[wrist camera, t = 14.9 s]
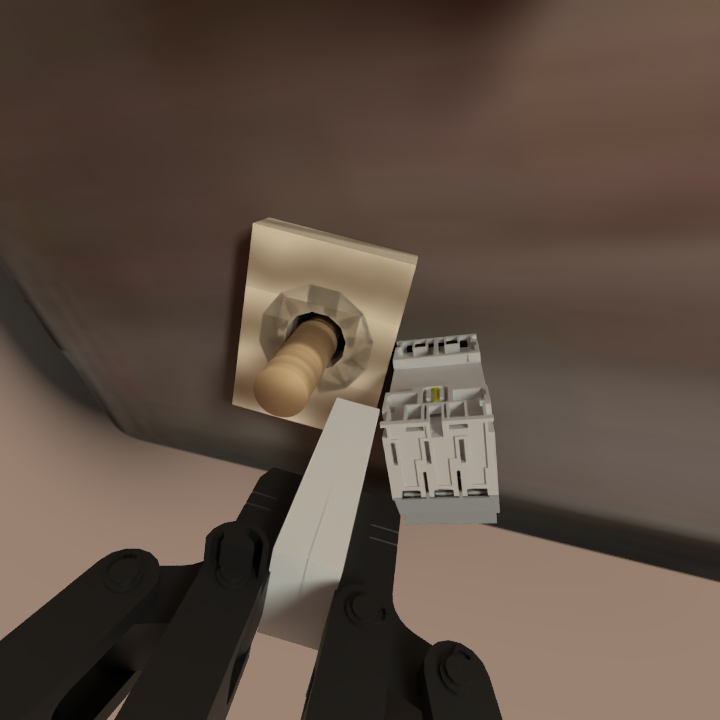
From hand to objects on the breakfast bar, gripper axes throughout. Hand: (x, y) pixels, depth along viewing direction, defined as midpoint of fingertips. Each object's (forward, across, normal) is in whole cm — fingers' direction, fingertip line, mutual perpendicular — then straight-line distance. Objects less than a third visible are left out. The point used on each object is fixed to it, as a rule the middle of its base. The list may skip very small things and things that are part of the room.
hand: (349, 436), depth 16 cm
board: (+28, -6, -8) cm, 30 cm away
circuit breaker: (+29, +7, -13) cm, 32 cm away
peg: (+28, -6, -8) cm, 30 cm away
